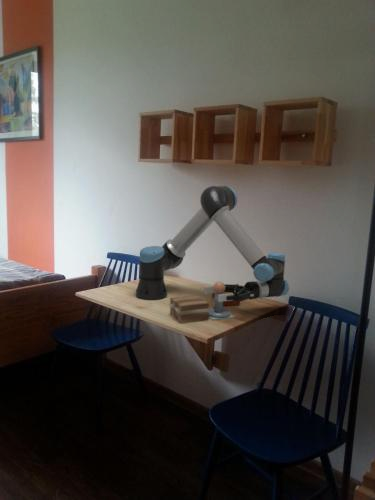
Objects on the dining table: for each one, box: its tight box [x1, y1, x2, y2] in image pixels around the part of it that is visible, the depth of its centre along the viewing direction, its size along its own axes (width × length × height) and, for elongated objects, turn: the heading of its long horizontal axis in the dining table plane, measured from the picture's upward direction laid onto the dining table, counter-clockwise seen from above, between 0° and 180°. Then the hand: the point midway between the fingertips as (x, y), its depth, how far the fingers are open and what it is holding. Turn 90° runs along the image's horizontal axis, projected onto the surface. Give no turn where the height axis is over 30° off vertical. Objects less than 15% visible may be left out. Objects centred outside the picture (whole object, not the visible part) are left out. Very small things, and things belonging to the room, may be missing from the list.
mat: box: [208, 313, 235, 321], centre depth 177 cm, size 10×10×1 cm
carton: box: [211, 292, 241, 308], centre depth 197 cm, size 8×16×4 cm, turn 16°
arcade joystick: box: [209, 281, 231, 318], centre depth 176 cm, size 10×10×14 cm
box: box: [169, 295, 210, 324], centre depth 173 cm, size 12×12×7 cm
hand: (211, 294), depth 174 cm, fingers open, 12 cm apart
